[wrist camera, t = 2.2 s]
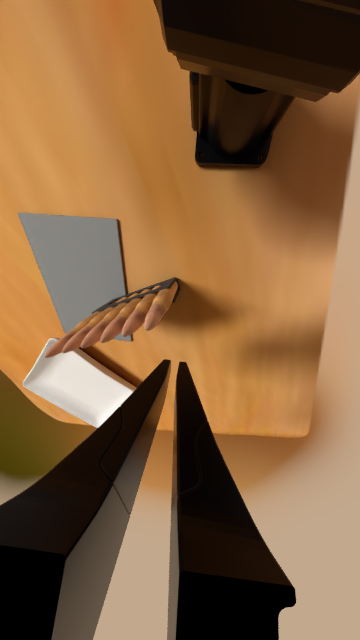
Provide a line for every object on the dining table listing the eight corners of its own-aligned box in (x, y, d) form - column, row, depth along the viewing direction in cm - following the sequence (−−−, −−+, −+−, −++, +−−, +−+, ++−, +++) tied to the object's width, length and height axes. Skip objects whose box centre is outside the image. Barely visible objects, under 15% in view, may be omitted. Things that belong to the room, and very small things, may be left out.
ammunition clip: (176, 276, 18) (154, 312, 8) (180, 289, 19) (166, 337, 8) (111, 299, 21) (27, 350, 10) (118, 310, 21) (45, 368, 11)
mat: (117, 219, 16) (116, 219, 16) (131, 340, 24) (131, 341, 24) (20, 213, 17) (17, 212, 17) (65, 331, 25) (64, 332, 25)
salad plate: (65, 326, 25) (47, 336, 22) (150, 386, 31) (145, 401, 28) (35, 374, 34) (19, 386, 31) (105, 415, 39) (98, 429, 36)
